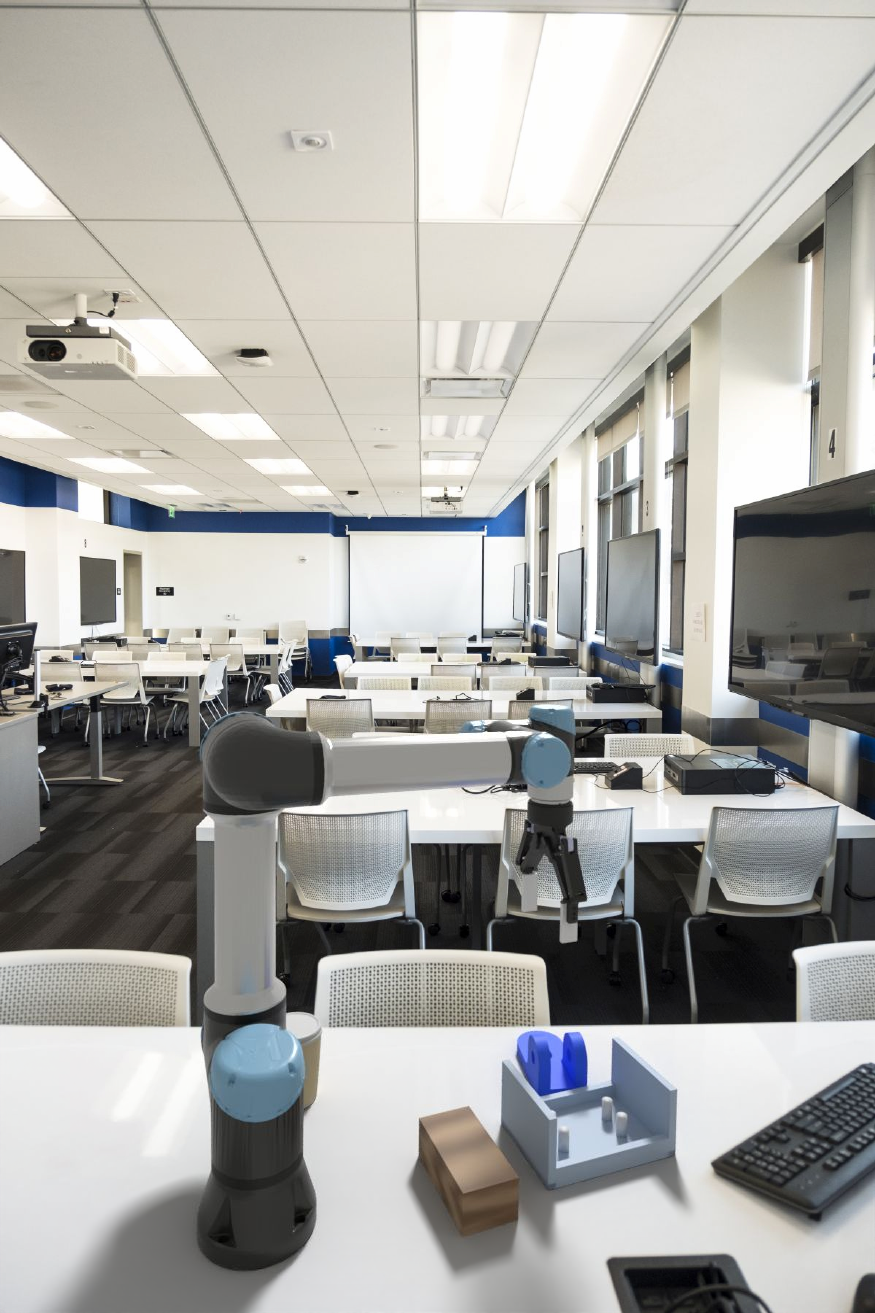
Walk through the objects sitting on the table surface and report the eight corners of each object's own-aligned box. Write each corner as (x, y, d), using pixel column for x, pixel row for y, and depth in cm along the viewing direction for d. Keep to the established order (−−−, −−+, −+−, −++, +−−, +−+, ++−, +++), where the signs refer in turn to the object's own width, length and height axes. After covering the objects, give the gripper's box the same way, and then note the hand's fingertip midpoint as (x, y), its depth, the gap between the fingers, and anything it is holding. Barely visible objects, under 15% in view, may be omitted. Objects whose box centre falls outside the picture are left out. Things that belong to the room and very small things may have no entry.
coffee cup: (327, 1082, 131) (328, 1012, 131) (313, 1117, 122) (314, 1042, 121) (274, 1078, 132) (274, 1009, 132) (256, 1112, 123) (256, 1038, 122)
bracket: (586, 1099, 128) (588, 1046, 127) (537, 1102, 127) (539, 1049, 126) (555, 1040, 146) (556, 993, 145) (512, 1043, 145) (513, 995, 144)
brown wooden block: (518, 1222, 102) (519, 1177, 101) (462, 1239, 99) (463, 1193, 98) (468, 1144, 116) (468, 1106, 116) (418, 1158, 113) (419, 1118, 113)
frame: (548, 1190, 107) (549, 1120, 106) (501, 1123, 121) (502, 1060, 121) (675, 1155, 114) (677, 1089, 114) (616, 1095, 129) (618, 1036, 128)
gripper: (612, 815, 117) (608, 952, 118) (535, 782, 141) (533, 897, 142) (568, 819, 115) (565, 959, 116) (498, 784, 138) (496, 901, 139)
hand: (547, 925), depth 129 cm, fingers open, 13 cm apart
